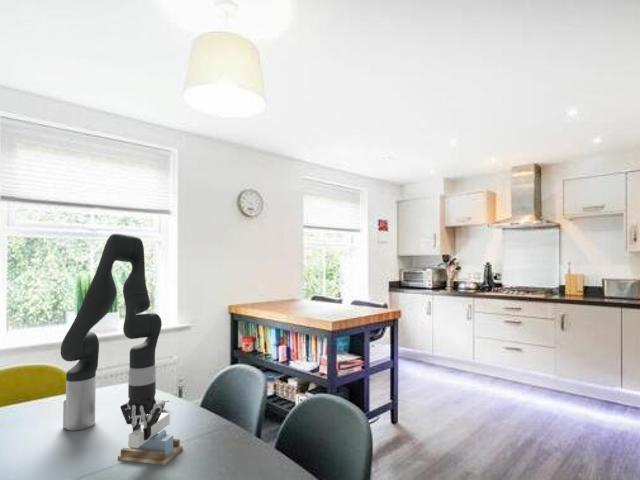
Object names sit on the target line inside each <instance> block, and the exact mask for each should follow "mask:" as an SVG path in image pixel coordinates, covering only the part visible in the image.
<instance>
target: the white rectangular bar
mask: <svg viewBox="0 0 640 480" xmlns="http://www.w3.org/2000/svg"><path fill="white" fill-rule="evenodd" d="M170 420H171V413H170V412H162V413H161V415H160V417H159V419H158V421H157V423H155V424H154V425H153V426H151V436H150V437H149V438H148V439H147V440H144V431H143V428H144V426H143V424H141V427H140V428H139V429H137V430H135V431H133V430H132V432H130V433H129V434H128V441H129V445H128V448H130V447H134V448H138V447H139V446H141V445H142V444H144V443H145V442H146V441H148V440H149V439H150V438H152V437H153V436H154V435H156V434H157V433H158V434H159V433H160V432H162V431H163V430H165V428H166V427H168V426H169V425H170V423H171V421H170Z"/></svg>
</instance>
